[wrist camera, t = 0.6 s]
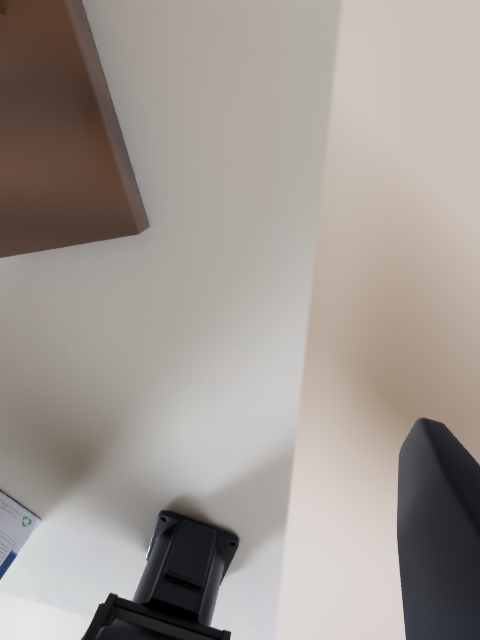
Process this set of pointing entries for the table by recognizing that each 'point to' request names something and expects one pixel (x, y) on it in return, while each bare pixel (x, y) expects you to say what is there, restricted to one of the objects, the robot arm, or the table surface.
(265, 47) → the table surface
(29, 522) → the blue and white box
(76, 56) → the stand
